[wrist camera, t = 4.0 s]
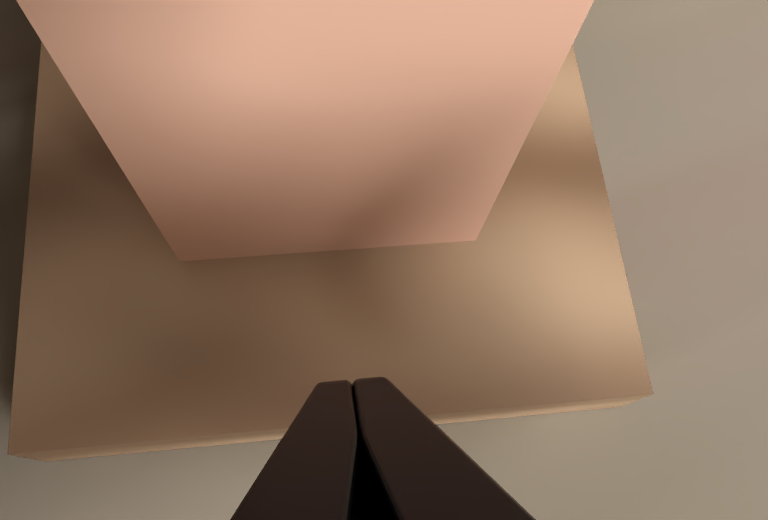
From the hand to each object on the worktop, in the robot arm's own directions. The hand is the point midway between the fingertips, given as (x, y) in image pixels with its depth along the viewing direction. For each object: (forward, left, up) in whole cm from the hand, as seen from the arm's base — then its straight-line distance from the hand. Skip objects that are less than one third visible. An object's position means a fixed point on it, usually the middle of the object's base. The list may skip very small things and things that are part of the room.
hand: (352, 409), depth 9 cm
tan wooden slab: (+4, -5, -9) cm, 11 cm away
